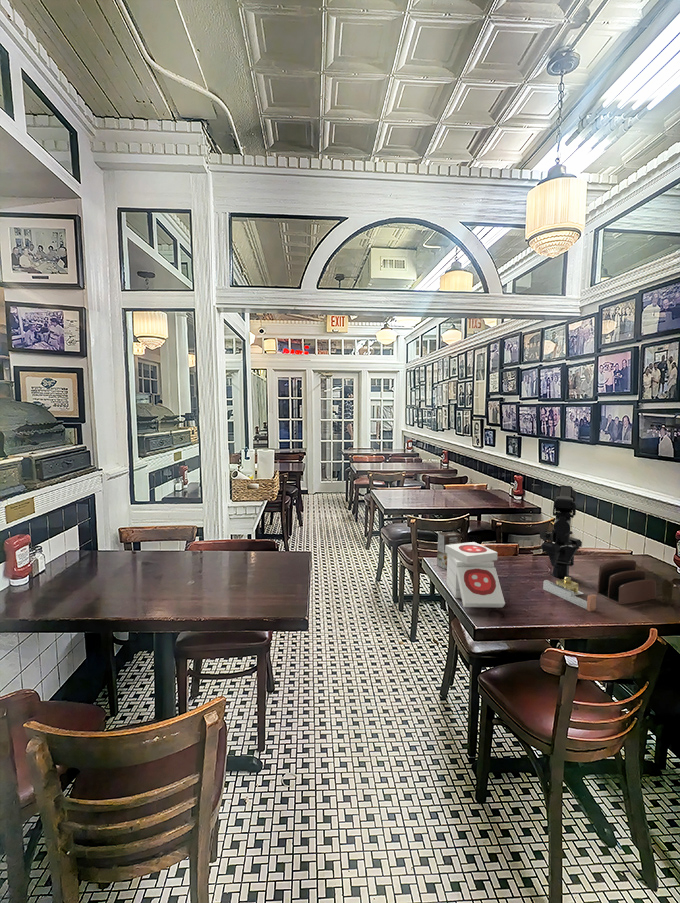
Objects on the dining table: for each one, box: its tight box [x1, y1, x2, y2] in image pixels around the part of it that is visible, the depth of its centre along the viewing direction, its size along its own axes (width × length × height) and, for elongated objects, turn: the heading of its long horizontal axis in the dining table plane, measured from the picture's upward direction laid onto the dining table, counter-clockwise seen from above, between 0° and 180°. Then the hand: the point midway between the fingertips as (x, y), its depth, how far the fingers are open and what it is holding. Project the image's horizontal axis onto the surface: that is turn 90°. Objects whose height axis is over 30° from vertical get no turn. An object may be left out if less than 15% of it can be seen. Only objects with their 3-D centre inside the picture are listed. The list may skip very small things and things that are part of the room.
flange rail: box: [542, 579, 597, 612], centre depth 170 cm, size 11×22×6 cm, turn 23°
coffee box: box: [436, 531, 462, 570], centre depth 207 cm, size 9×6×16 cm
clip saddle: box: [555, 577, 580, 593], centre depth 179 cm, size 6×6×6 cm
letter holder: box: [596, 559, 657, 606], centre depth 174 cm, size 10×20×14 cm, turn 108°
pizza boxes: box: [445, 541, 506, 608], centre depth 173 cm, size 19×30×18 cm, turn 0°
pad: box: [574, 590, 585, 596], centre depth 180 cm, size 9×9×1 cm
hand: (560, 564), depth 180 cm, fingers open, 9 cm apart
